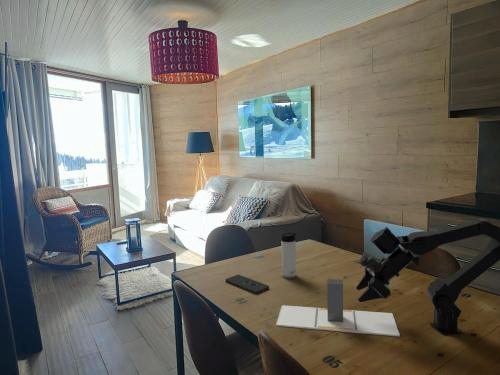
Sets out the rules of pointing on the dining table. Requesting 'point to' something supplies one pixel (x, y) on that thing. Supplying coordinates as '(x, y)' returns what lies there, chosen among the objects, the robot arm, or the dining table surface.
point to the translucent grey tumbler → (335, 300)
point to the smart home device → (247, 284)
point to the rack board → (351, 322)
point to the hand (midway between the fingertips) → (358, 294)
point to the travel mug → (288, 255)
